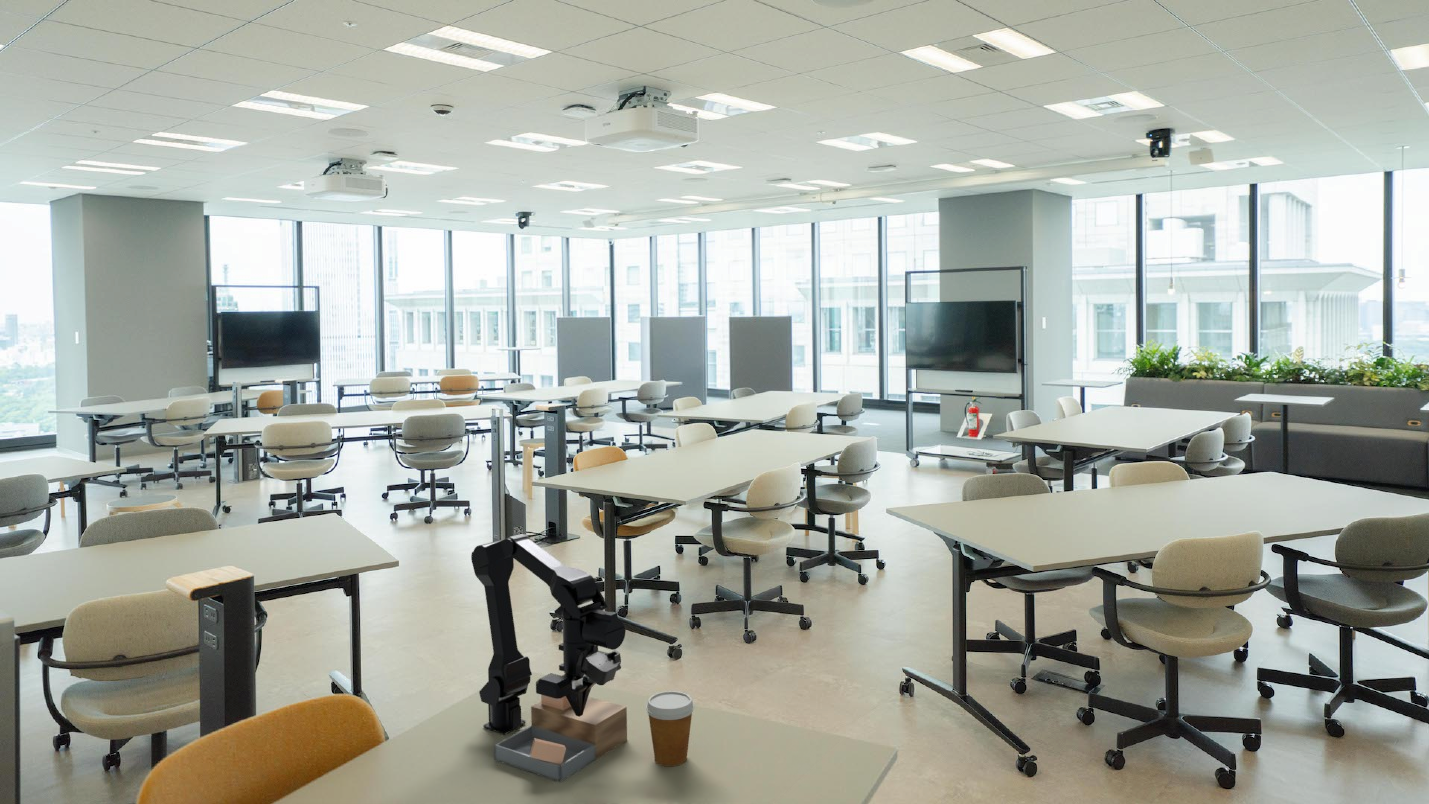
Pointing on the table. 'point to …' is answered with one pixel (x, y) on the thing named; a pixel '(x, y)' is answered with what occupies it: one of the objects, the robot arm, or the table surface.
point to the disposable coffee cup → (670, 726)
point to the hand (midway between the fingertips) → (579, 715)
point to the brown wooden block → (586, 723)
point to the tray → (518, 756)
